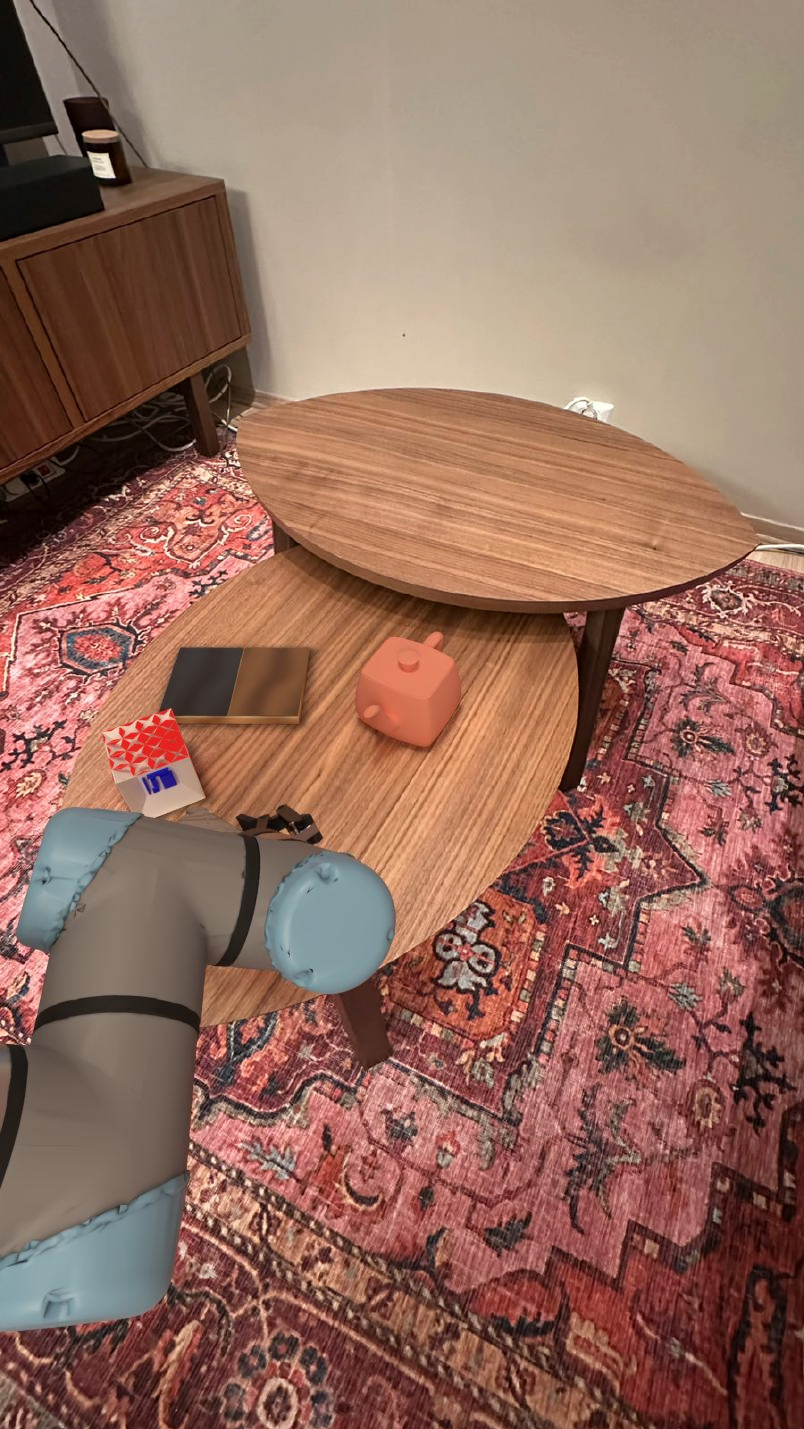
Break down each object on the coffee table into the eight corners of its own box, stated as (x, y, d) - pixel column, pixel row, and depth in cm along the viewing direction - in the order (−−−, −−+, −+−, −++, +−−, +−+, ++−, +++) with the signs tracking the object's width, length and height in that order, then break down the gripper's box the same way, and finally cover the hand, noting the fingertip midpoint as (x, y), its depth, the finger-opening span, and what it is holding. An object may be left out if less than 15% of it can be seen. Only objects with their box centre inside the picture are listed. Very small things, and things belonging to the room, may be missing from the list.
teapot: (476, 689, 91) (482, 630, 83) (410, 787, 80) (409, 730, 72) (401, 660, 94) (400, 601, 87) (329, 750, 84) (320, 692, 76)
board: (159, 723, 87) (156, 716, 86) (182, 653, 96) (179, 645, 95) (299, 724, 87) (298, 717, 86) (310, 653, 96) (309, 646, 94)
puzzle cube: (188, 750, 84) (171, 708, 78) (206, 798, 80) (189, 756, 74) (123, 774, 82) (100, 732, 76) (137, 824, 77) (114, 784, 72)
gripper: (171, 1012, 47) (140, 934, 68) (397, 849, 56) (308, 824, 76) (115, 923, 46) (100, 871, 67) (354, 770, 54) (276, 766, 75)
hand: (211, 846), depth 71 cm, fingers closed on stone, 7 cm apart
